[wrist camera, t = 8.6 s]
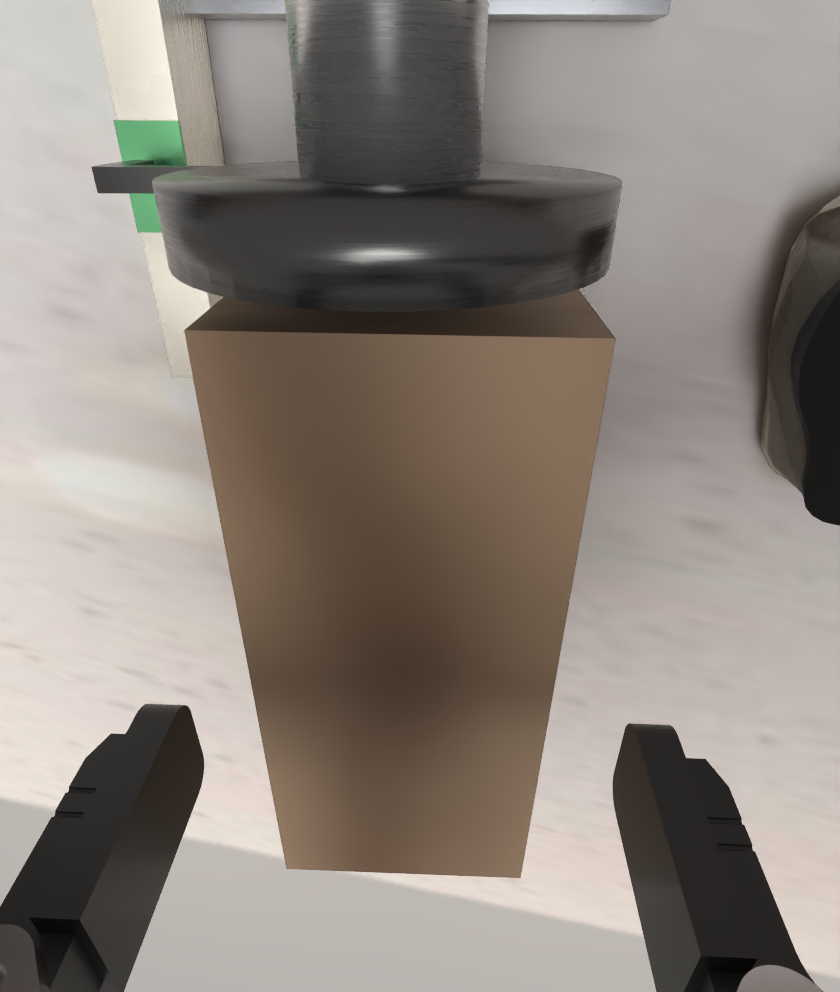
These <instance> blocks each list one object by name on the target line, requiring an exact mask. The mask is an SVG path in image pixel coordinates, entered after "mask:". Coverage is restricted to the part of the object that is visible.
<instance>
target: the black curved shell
mask: <svg viewBox="0 0 840 992" xmlns="http://www.w3.org/2000/svg"><path fill="white" fill-rule="evenodd" d="M761 446H762V448H763V451H764V454H765V456H766V459H767V461H768V464H769V466H770V467H771V468H772V469H773V470H774V471H775V472H776V473H777V474H779V475H781V476H783V477H784V478H785V479H787V480H788V481H790V482H791V483H792V484H793V485H794V486H795V487H797V488H798V489H799V491H800V492H801V493H802V495H803V497H804V502H805V507H806V508H807V510H808V511H809V512H810V513H811V514H812V516H814V517H816V518H818V519H819V520H821V521H823V522H826V523H831V524H835V525H840V196H838V197H836V198H835V199H833V200H832V201H830V202H829V203H827V204H826V205H825V206H824V207H823V208H822V209H821V210H820V211H819V212H818V213H817V214H815V215H814V216H813V217H812V218H810V219H809V220H808V221H807V222H806V223H805V225H804V227H803V229H802V230H801V232H800V234H799V236H798V238H797V240H796V242H795V243H794V245H793V247H792V249H791V252H790V255H789V258H788V261H787V264H786V268H785V272H784V276H783V280H782V284H781V288H780V292H779V296H778V299H777V303H776V307H775V311H774V316H773V321H772V327H771V332H770V339H769V347H768V379H767V398H766V404H765V410H764V416H763V424H762V434H761Z"/></svg>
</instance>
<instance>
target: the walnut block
mask: <svg viewBox="0 0 840 992" xmlns="http://www.w3.org/2000/svg"><path fill="white" fill-rule="evenodd" d="M184 333H185V338H186V343H187V348H188V354H189V359H190V364H191V369H192V375H193V380H194V385H195V390H196V396H197V401H198V406H199V411H200V417H201V422H202V427H203V432H204V438H205V443H206V448H207V453H208V459H209V464H210V469H211V474H212V480H213V485H214V490H215V496H216V501H217V506H218V511H219V517H220V522H221V527H222V532H223V538H224V543H225V548H226V553H227V559H228V564H229V569H230V574H231V580H232V585H233V590H234V595H235V601H236V606H237V611H238V616H239V622H240V627H241V632H242V637H243V643H244V648H245V653H246V658H247V664H248V669H249V674H250V679H251V685H252V690H253V695H254V700H255V706H256V711H257V716H258V721H259V727H260V732H261V737H262V742H263V748H264V753H265V758H266V763H267V769H268V774H269V779H270V784H271V790H272V795H273V800H274V805H275V811H276V816H277V821H278V826H279V832H280V837H281V842H282V847H283V853H284V858H285V863H286V868H287V869H306V870H330V871H356V872H381V873H407V874H432V875H458V876H484V877H509V878H520V877H521V872H522V866H523V860H524V855H525V849H526V843H527V838H528V832H529V826H530V821H531V815H532V809H533V804H534V798H535V792H536V787H537V781H538V775H539V770H540V764H541V758H542V753H543V747H544V741H545V736H546V730H547V724H548V719H549V713H550V707H551V702H552V696H553V690H554V685H555V679H556V673H557V667H558V662H559V656H560V650H561V645H562V639H563V633H564V628H565V622H566V616H567V611H568V605H569V599H570V594H571V588H572V582H573V577H574V571H575V565H576V560H577V554H578V548H579V543H580V537H581V531H582V526H583V520H584V514H585V509H586V503H587V497H588V492H589V486H590V480H591V475H592V469H593V463H594V458H595V452H596V446H597V441H598V435H599V429H600V424H601V418H602V412H603V407H604V401H605V395H606V389H607V384H608V378H609V372H610V367H611V361H612V355H613V350H614V344H615V337H614V336H613V335H612V333H611V332H610V331H609V329H608V328H607V327H606V325H605V324H604V323H603V321H602V320H601V319H600V317H599V316H598V315H597V313H596V312H595V311H594V309H593V308H592V307H591V305H590V304H589V303H588V301H587V300H586V299H585V297H584V296H583V295H582V293H581V292H580V291H579V289H577V290H574V291H571V292H568V293H565V294H561V295H556V296H552V297H548V298H544V299H538V300H532V301H527V302H521V303H515V304H507V305H499V306H490V307H482V308H469V309H456V310H439V311H414V312H361V311H332V310H318V309H304V308H292V307H284V306H275V305H266V304H259V303H253V302H247V301H241V300H235V299H231V298H227V297H223V298H222V299H220V300H219V301H218V302H217V303H216V304H215V305H213V306H212V307H211V308H210V309H209V310H207V311H206V312H205V313H204V314H203V315H202V316H200V317H199V318H198V319H197V320H196V321H194V322H193V323H192V324H191V325H190V326H189V327H187V328H186V329H185V330H184Z"/></svg>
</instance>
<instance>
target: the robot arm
mask: <svg viewBox="0 0 840 992" xmlns="http://www.w3.org/2000/svg"><path fill="white" fill-rule="evenodd" d="M203 773H204V757H203V753H202V749H201V746H200V742H199V739H198V735H197V732H196V728H195V725H194V721H193V718H192V714H191V711H190V709H189V707H188V706H186V705H162V704H145V705H144V706H142V707H141V708H140V710H139V711H138V712H137V714H136V716H135V718H134V720H133V722H132V723H131V725H130V727H129V729H128V731H127V733H126V734H110V735H109V736H108V737H107V738H106V739H105V740H104V741H103V742H102V743H101V744H100V745H99V746H98V747H97V748H96V749H95V750H94V751H93V752H92V753H91V754H89V755H88V756H87V757H86V758H85V760H84V762H83V764H82V765H81V767H80V769H79V771H78V772H77V774H76V776H75V778H74V779H73V781H72V783H71V785H70V786H69V791H68V793H65V795H64V797H63V798H62V800H61V802H60V804H59V805H58V807H57V809H56V811H55V816H54V817H52V818H51V819H50V821H49V823H48V825H47V826H46V828H45V830H44V831H43V833H42V835H41V837H40V838H39V840H38V842H37V844H36V845H35V847H34V849H33V851H32V852H31V854H30V856H29V858H28V859H27V861H26V863H25V865H24V866H23V868H22V870H21V872H20V873H19V875H18V877H17V878H16V880H15V882H14V884H13V885H12V887H11V889H10V891H9V893H8V894H7V896H6V898H5V899H4V901H3V903H2V905H1V906H0V992H124V989H125V987H126V984H127V981H128V979H129V976H130V974H131V971H132V968H133V966H134V963H135V960H136V958H137V955H138V952H139V950H140V947H141V945H142V942H143V939H144V937H145V934H146V931H147V929H148V926H149V923H150V921H151V918H152V916H153V913H154V910H155V907H156V905H157V902H158V900H159V897H160V894H161V892H162V889H163V886H164V883H165V881H166V879H167V876H168V873H169V871H170V868H171V865H172V863H173V860H174V857H175V855H176V852H177V849H178V847H179V844H180V841H181V839H182V836H183V834H184V831H185V828H186V826H187V823H188V820H189V818H190V815H191V812H192V810H193V807H194V805H195V802H196V799H197V797H198V794H199V791H200V788H201V784H202V780H203ZM613 800H614V807H615V812H616V817H617V821H618V826H619V830H620V834H621V839H622V843H623V847H624V852H625V856H626V861H627V865H628V869H629V874H630V878H631V882H632V887H633V891H634V895H635V900H636V904H637V908H638V913H639V917H640V922H641V926H642V930H643V935H644V939H645V943H646V948H647V952H648V956H649V961H650V965H651V969H652V974H653V978H654V982H655V987H656V991H657V992H823V991H822V990H821V989H820V988H819V987H818V986H817V985H816V984H815V983H814V981H813V980H812V979H811V978H810V976H809V975H808V973H807V972H806V970H805V968H804V967H803V965H802V964H801V962H800V960H799V958H798V955H797V953H796V951H795V949H794V946H793V944H792V941H791V939H790V936H789V934H788V932H787V929H786V927H785V924H784V922H783V919H782V917H781V914H780V912H779V909H778V907H777V905H776V902H775V900H774V897H773V895H772V892H771V890H770V887H769V885H768V882H767V880H766V877H765V875H764V873H763V870H762V868H761V865H760V863H759V860H758V858H757V855H756V853H755V852H753V850H752V843H751V841H750V838H749V836H748V833H747V831H746V828H745V826H744V825H742V822H741V819H742V818H741V816H740V814H739V811H738V809H737V806H736V804H735V801H734V799H733V796H732V794H731V791H730V789H729V787H728V785H727V784H726V783H725V782H724V781H723V779H722V778H721V777H720V776H719V775H718V774H717V772H716V771H715V770H714V769H713V768H712V766H711V765H710V764H709V763H708V762H707V760H706V759H692V758H686V757H685V755H684V752H683V749H682V746H681V743H680V741H679V738H678V735H677V733H676V731H675V729H674V728H673V727H672V726H670V725H651V724H628V725H627V726H626V728H625V732H624V736H623V740H622V743H621V747H620V751H619V755H618V759H617V763H616V767H615V771H614V776H613Z"/></svg>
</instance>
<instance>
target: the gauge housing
mask: <svg viewBox="0 0 840 992" xmlns="http://www.w3.org/2000/svg"><path fill="white" fill-rule="evenodd" d="M670 1H671V0H489V10H488V20H537V21H654V20H657V19H659V18H661V17H664V16H666V15H668V12H669V7H670ZM91 2H92V7H93V11H94V16H95V21H96V25H97V30H98V35H99V39H100V44H101V49H102V54H103V58H104V63H105V68H106V72H107V77H108V82H109V86H110V91H111V96H112V100H113V105H114V110H115V114H116V119H117V120H114V124H115V129H116V134H117V138H118V143H119V147H120V152H121V157H122V161H130V160H154V164H155V165H170V166H224V165H225V163H224V156H223V149H222V142H221V135H220V128H219V121H218V114H217V107H216V99H215V92H214V85H213V78H212V71H211V64H210V57H209V50H208V42H207V35H206V28H205V21H204V20H286V9H285V0H91ZM129 194H130V198H131V203H132V208H133V212H134V217H135V222H136V226H137V231H138V232H141V236H142V241H143V245H144V250H145V255H146V259H147V264H148V269H149V273H150V278H151V283H152V288H153V292H154V297H155V302H156V306H157V311H158V316H159V320H160V325H161V330H162V334H163V339H164V344H165V348H166V353H167V358H168V362H169V367H170V372H171V376H172V377H193V375H192V369H191V364H190V359H189V354H188V348H187V343H186V338H185V333H184V330H185V329H186V328H187V327H189V326H190V325H191V324H192V323H193V322H194V321H196V320H197V319H198V318H199V317H200V316H202V315H203V314H204V313H205V312H206V311H207V310H209V309H210V308H211V307H212V306H213V305H215V304H216V303H217V302H218V301H219V300H220V299H222V298H223V296H218V295H214V294H210V293H207V292H204V291H201V290H198V289H195V288H192V287H190V286H188V285H186V284H184V283H182V282H180V281H179V280H178V279H176V278H175V277H174V276H173V275H172V274H171V272H170V270H169V266H168V261H167V256H166V251H165V246H164V241H163V236H162V231H161V226H160V221H159V216H158V211H157V205H156V200H155V195H154V194H146V193H129Z"/></svg>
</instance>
